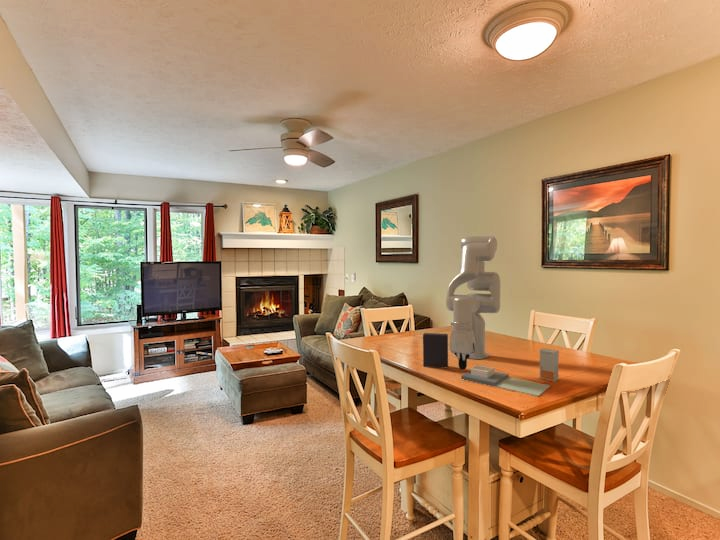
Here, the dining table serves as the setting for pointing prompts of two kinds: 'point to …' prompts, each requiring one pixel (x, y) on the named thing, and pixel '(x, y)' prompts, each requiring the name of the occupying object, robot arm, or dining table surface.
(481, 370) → the coaster tile
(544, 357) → the skincare box
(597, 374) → the dining table surface
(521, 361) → the dining table surface
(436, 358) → the black rectangular block
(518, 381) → the mat
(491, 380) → the board
